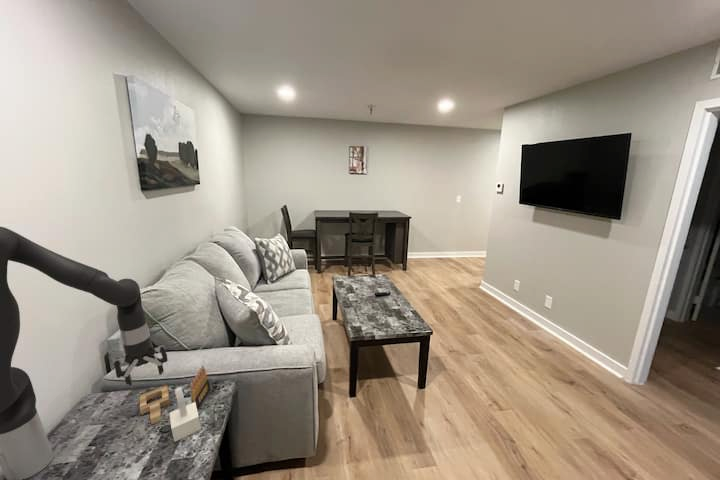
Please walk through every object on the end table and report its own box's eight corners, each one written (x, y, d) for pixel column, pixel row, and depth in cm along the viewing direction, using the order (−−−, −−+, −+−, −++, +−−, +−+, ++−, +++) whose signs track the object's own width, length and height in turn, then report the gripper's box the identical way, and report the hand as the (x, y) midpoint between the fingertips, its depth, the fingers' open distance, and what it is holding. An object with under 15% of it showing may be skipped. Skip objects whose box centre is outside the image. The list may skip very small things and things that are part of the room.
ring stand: (174, 441, 99) (164, 402, 95) (172, 425, 106) (163, 387, 101) (201, 429, 104) (193, 391, 100) (197, 413, 110) (190, 377, 106)
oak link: (171, 416, 109) (170, 410, 109) (141, 429, 104) (139, 423, 104) (168, 390, 122) (166, 385, 121) (141, 400, 117) (139, 395, 116)
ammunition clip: (198, 410, 112) (192, 383, 109) (193, 410, 112) (187, 383, 109) (210, 388, 122) (205, 363, 119) (206, 388, 122) (201, 363, 119)
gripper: (107, 351, 93) (119, 394, 97) (162, 335, 101) (170, 376, 105) (109, 339, 99) (120, 381, 103) (160, 325, 107) (169, 364, 111)
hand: (146, 378), depth 104 cm, fingers open, 8 cm apart
